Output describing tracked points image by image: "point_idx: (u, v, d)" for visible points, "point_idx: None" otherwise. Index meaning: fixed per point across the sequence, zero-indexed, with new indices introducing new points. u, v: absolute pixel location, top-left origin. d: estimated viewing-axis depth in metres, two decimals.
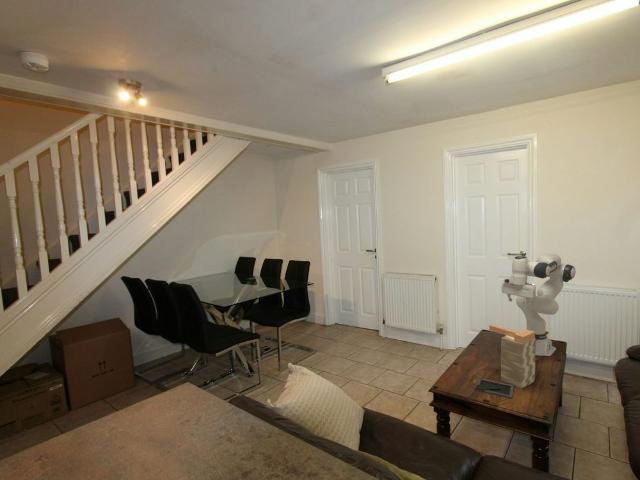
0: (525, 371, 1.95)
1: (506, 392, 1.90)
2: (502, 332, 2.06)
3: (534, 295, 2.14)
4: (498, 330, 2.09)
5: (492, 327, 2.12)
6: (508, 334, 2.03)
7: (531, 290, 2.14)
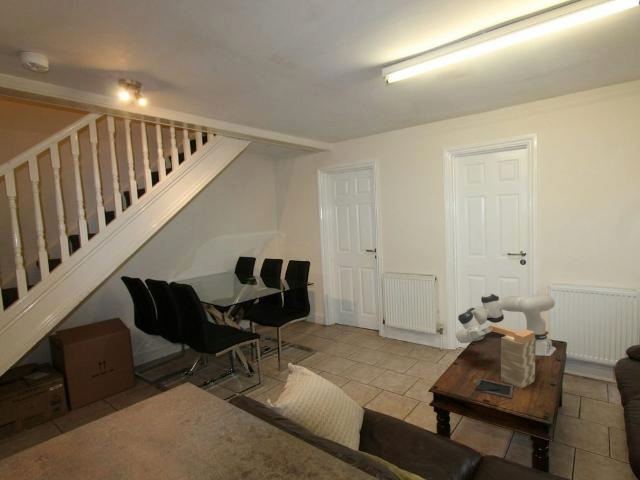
0: (525, 371, 1.95)
1: (506, 392, 1.90)
2: (502, 332, 2.06)
3: None
4: (498, 330, 2.09)
5: None
6: (508, 334, 2.03)
7: None
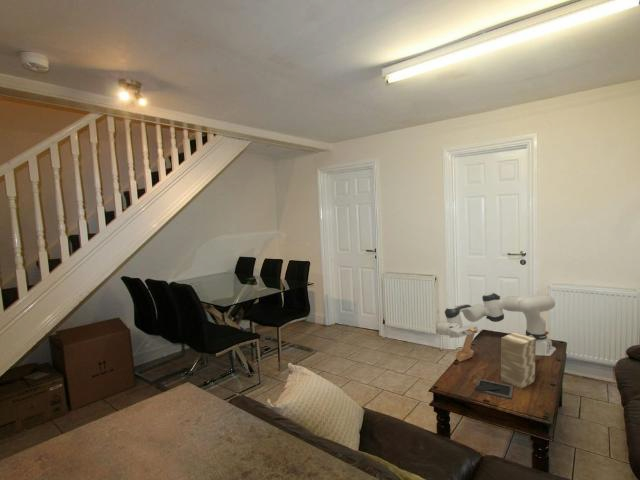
0: (525, 371, 1.95)
1: (506, 393, 1.90)
2: (466, 339, 2.28)
3: None
4: (468, 336, 2.27)
5: None
6: (465, 344, 2.29)
7: (470, 325, 2.37)
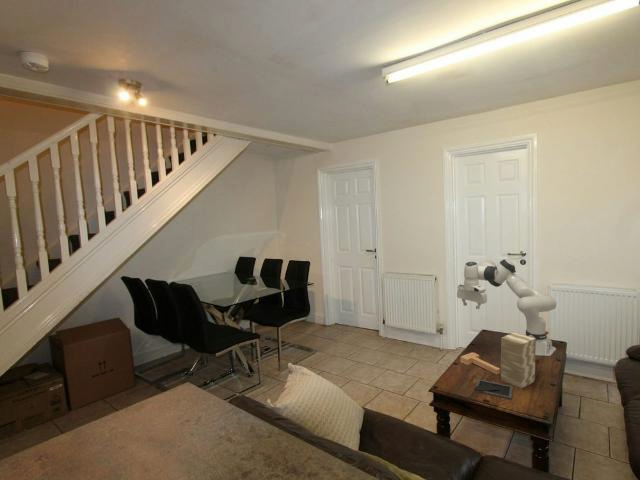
0: (525, 371, 1.95)
1: (505, 393, 1.89)
2: (484, 365, 2.18)
3: None
4: (488, 368, 2.15)
5: (493, 372, 2.12)
6: (479, 363, 2.21)
7: None
